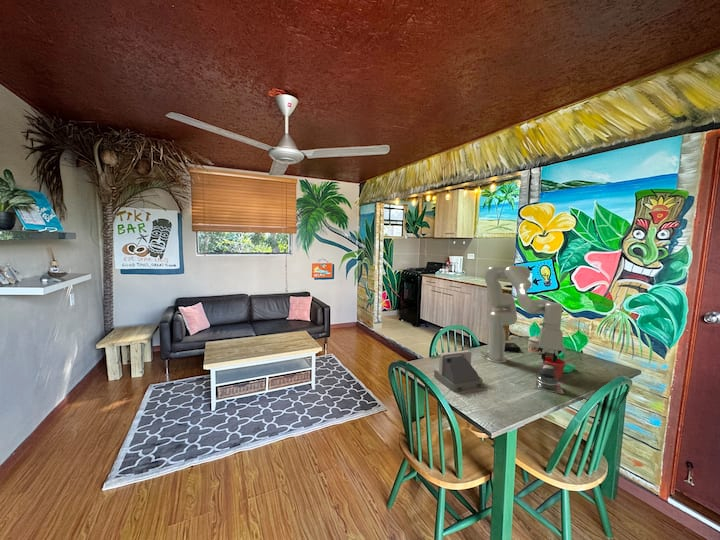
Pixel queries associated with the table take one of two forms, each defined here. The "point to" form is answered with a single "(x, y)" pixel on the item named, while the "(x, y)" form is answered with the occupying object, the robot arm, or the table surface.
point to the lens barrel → (547, 383)
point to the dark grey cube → (548, 371)
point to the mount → (567, 366)
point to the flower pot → (558, 366)
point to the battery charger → (512, 347)
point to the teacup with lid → (531, 345)
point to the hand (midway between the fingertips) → (548, 360)
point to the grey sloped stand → (457, 371)
